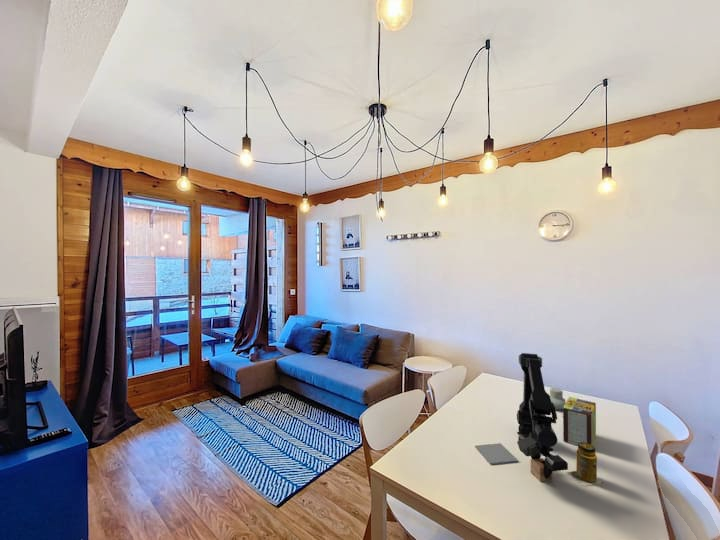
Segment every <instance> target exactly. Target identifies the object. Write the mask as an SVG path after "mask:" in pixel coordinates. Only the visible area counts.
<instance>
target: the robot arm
mask: <svg viewBox="0 0 720 540" xmlns="http://www.w3.org/2000/svg"><path fill="white" fill-rule="evenodd" d="M518 363H519V365H520V367H521V370H522V371H523V397H522V398H523V401H522V402H521V403H519V407H518V410H517V412H516V420H517V421H516V422H517V424H518V431H517V432H516V434H517V435H518V436H517V437H518V438H517V439H518V440H517V442H516V443H517V446H518V449H519V451H520V452H522V454H523V455H524V456H525V457H530V458H531V459H540V458H542V457H544V460H545V461H540V462H541V463H542V464H543V465H544V475H545V478H546V479H548V478H549V477H550V475H551V474H552V472H561V471H568V469H569V465H568V464H569V463H568V461H566V460H565V459H564V458H562V457H561V456H560V455H559V454H555V455H553V454H552V453H553V452H554V448H553V447H555V446H556V445H557V443H558V437H557V434H556V432H555V430H554V429H553V427H552V424H557V419H558V415H557V414H558V413H557V410H556V409H555V406H554V404H553V402H551V398H550V396H549V395H550V393H548V392H547V391H546V389H545V388H546V387H545V384H544V378H543V376H542V375H543V374H542V367H543V358H542V357H541V356H538V354H537V353H529V352H522V353H520V354H519V355H518ZM551 452H552V453H551ZM531 459H530V460H531Z"/></svg>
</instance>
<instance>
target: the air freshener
mask: <svg viewBox="0 0 720 540" xmlns="http://www.w3.org/2000/svg"><path fill="white" fill-rule="evenodd" d="M563 395H564V394H563V390H562V389H560V388H557V387H551V388H549V396H550V398H551V402H553V404H554V406H555V409H556V411H563V407H564V405H565V403H566V398H564V397H563Z"/></svg>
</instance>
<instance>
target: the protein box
mask: <svg viewBox="0 0 720 540" xmlns="http://www.w3.org/2000/svg"><path fill="white" fill-rule="evenodd" d="M596 408H597V403H596V402H593V401H589V400H585V399H580V398H576V397H572V396H568V399H567V400H565V405H564V407H563V410H562V419H563V421H562V422H563V423H562V427H563V429H562V430H563V432H562V433H563V434H562V436H563V439H562V440H563V442H564V443H567V444H570V445H573V446H577V447H578V443H579V442H585V443H588V444H591V445H593V446H594V444H595V440H596V437H597V409H596Z"/></svg>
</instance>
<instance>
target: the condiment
mask: <svg viewBox="0 0 720 540" xmlns="http://www.w3.org/2000/svg"><path fill="white" fill-rule="evenodd" d="M596 453H597V452H596V447H595V446H594V444H593V445H591V444H588V443H585V442H579V443H578V446H577V449H576V462H575V463H576V464H575V465H576V470H573V471H567V472H565V473H566V474H567V475H568V476H570V477H571V478H572V479H574V480H575V481H576V482H577V483H579V484H581V485H582V486H583V487H588V486H591V485H598V484H602V483H603V481H602V480H600V479H599V478H598V477H597V474H598V473H597V472H598V471H597V470H598V467H597V466H598V465H597V464H598V461H597V460H598V457H597V455H596Z"/></svg>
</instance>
